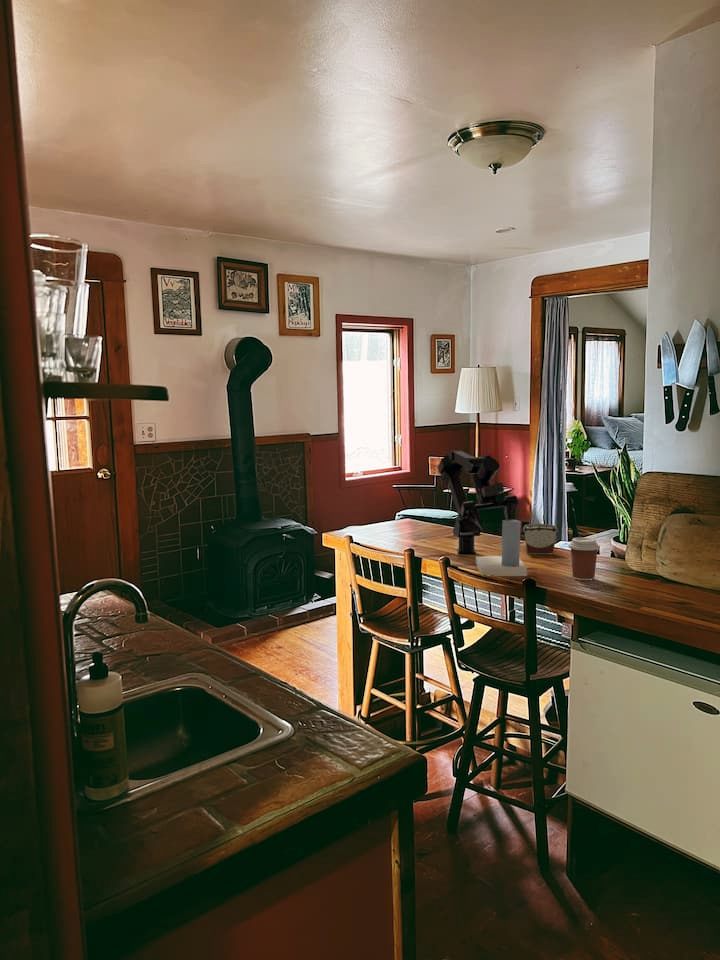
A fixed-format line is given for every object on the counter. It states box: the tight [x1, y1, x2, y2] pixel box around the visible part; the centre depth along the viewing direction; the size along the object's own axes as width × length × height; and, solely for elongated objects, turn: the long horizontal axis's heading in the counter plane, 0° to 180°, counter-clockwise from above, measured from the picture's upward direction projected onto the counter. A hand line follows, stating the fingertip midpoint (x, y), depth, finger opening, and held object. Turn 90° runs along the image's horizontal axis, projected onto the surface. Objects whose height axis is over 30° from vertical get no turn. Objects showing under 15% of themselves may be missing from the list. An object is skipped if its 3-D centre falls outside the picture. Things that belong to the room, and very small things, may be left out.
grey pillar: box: [501, 519, 522, 567], centre depth 224 cm, size 6×6×14 cm
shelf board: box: [475, 555, 528, 577], centre depth 229 cm, size 18×14×2 cm
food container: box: [522, 523, 559, 555], centre depth 255 cm, size 12×6×10 cm, turn 84°
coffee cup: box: [568, 537, 600, 581], centre depth 215 cm, size 9×9×12 cm
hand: (496, 527), depth 232 cm, fingers open, 9 cm apart
